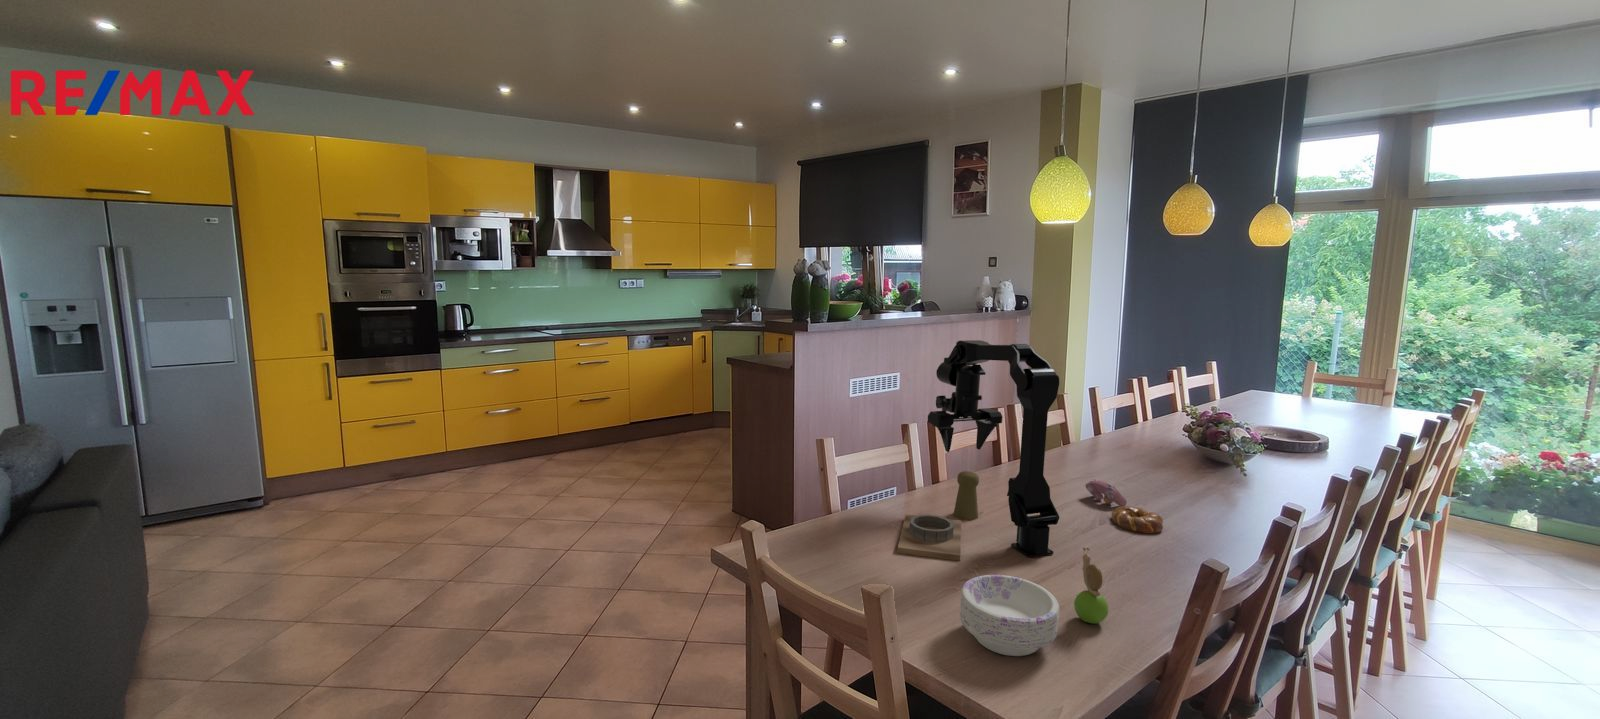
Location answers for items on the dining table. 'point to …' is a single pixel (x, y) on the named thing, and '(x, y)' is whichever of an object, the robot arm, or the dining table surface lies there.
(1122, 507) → the pretzel
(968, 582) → the paper bowls
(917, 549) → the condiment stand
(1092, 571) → the snail figurine
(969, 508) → the cork
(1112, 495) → the video game controller
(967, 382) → the robot arm
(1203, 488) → the dining table surface
